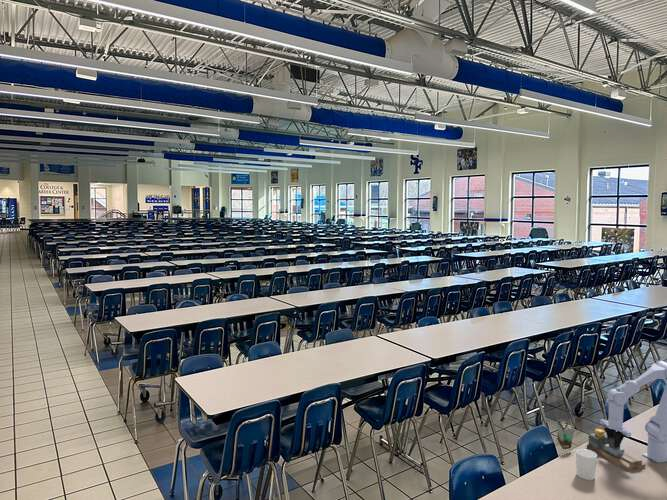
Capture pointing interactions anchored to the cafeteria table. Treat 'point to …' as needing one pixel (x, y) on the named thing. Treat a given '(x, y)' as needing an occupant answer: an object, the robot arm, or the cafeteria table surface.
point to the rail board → (621, 460)
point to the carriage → (613, 447)
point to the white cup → (586, 463)
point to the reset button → (599, 432)
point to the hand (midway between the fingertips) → (614, 445)
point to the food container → (565, 434)
